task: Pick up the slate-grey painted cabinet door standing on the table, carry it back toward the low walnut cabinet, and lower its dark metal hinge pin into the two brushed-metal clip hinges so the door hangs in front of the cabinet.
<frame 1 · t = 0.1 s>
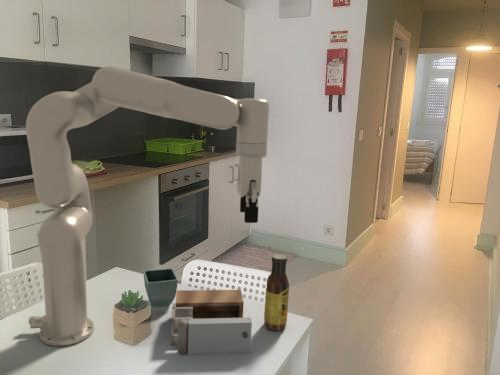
hand: (248, 216, 106), 31 cm above the table, tool pointing down, fingers open, 9 cm apart
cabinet: (208, 319, 116), on the table
hinge clips: (183, 338, 106), on the table
door: (219, 350, 101), on the table
flower pot: (160, 303, 124), on the table
sauce bottle: (275, 326, 114), on the table
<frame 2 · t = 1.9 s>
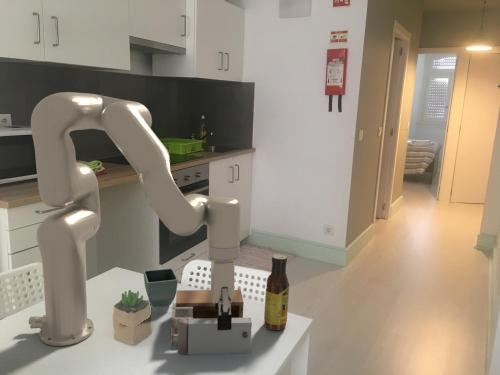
hand: (222, 318, 100), 9 cm above the table, tool pointing down, fingers open, 9 cm apart
nothing on the table moved.
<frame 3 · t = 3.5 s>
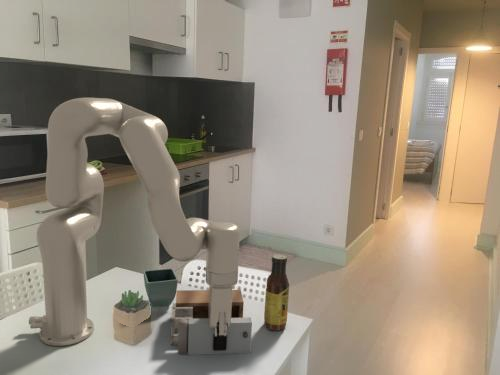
hand: (219, 345, 101), 1 cm above the table, tool pointing down, fingers closed on door, 2 cm apart
door: (219, 350, 101), on the table, touching gripper
everything else where it was.
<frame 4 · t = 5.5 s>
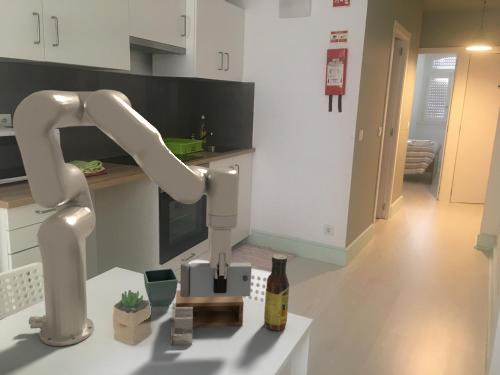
hand: (219, 289, 105), 13 cm above the table, tool pointing down, fingers closed on door, 2 cm apart
door: (220, 294, 105), point 12 cm above the table, touching gripper
everything else where it was.
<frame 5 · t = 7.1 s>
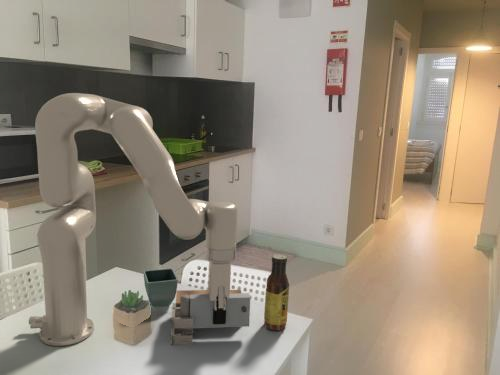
hand: (218, 319, 106), 5 cm above the table, tool pointing down, fingers closed on door, 2 cm apart
door: (219, 324, 107), point 3 cm above the table, touching gripper
everything else where it was.
when the fingers open (2 cm above the table, at t = 8.0 s): door stays where it is, on the table.
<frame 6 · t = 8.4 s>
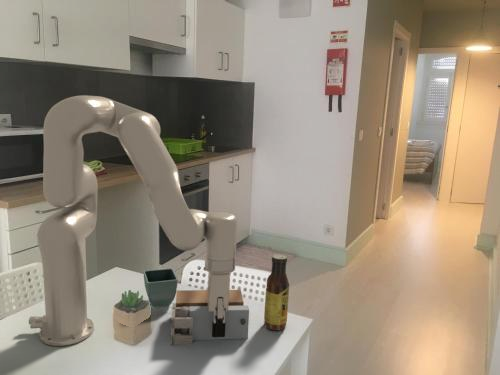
hand: (217, 328, 106), 3 cm above the table, tool pointing down, fingers open, 6 cm apart
door: (218, 336, 107), on the table
everything else where it was.
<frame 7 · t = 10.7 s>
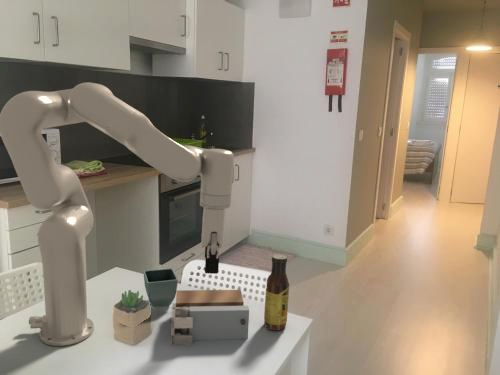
hand: (211, 265, 106), 19 cm above the table, tool pointing down, fingers open, 9 cm apart
nothing on the table moved.
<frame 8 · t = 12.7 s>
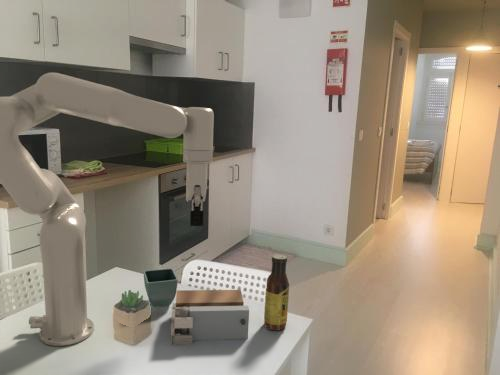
hand: (196, 220, 111), 28 cm above the table, tool pointing down, fingers open, 9 cm apart
nothing on the table moved.
at the end: door 0.2 cm from the target spot on the table beside the hinge clips, on the table; door tilted 0°; the gripper is holding nothing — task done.
